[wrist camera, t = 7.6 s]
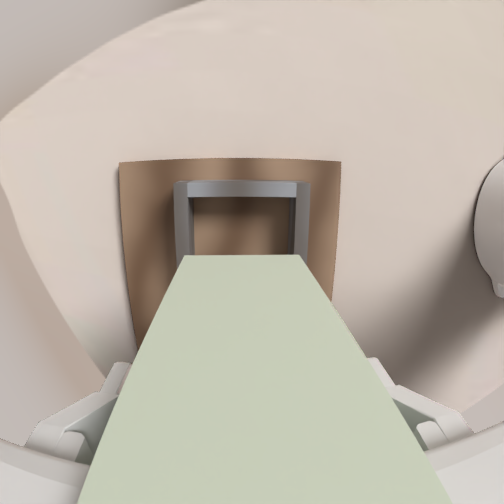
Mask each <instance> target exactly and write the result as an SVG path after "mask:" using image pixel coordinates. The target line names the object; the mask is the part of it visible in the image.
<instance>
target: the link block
mask: <svg viewBox="0 0 504 504" xmlns="http://www.w3.org/2000/svg"><path fill="white" fill-rule="evenodd" d="M77 504H453V503H452V501H451V499H450V498H449V496H448V494H447V492H446V490H445V489H444V487H443V485H442V483H441V481H440V480H439V478H438V476H437V474H436V472H435V471H434V469H433V467H432V465H431V464H430V462H429V460H428V458H427V457H426V455H425V453H424V452H423V450H422V448H421V446H420V445H419V443H418V441H417V440H416V438H415V436H414V434H413V433H412V431H411V429H410V428H409V426H408V424H407V423H406V421H405V419H404V418H403V416H402V414H401V413H400V411H399V409H398V408H397V406H396V404H395V403H394V401H393V399H392V398H391V396H390V395H389V393H388V391H387V390H386V388H385V386H384V385H383V383H382V382H381V380H380V378H379V377H378V375H377V373H376V372H375V370H374V369H373V367H372V365H371V364H370V362H369V361H368V359H367V358H366V356H365V354H364V353H363V351H362V350H361V348H360V346H359V345H358V343H357V342H356V340H355V339H354V337H353V335H352V334H351V332H350V331H349V329H348V328H347V326H346V325H345V323H344V322H343V320H342V318H341V317H340V315H339V314H338V312H337V311H336V309H335V308H334V306H333V305H332V303H331V302H330V300H329V299H328V297H327V296H326V294H325V293H324V291H323V290H322V288H321V287H320V285H319V283H318V282H317V281H316V279H315V278H314V276H313V275H312V273H311V272H310V270H309V269H308V267H307V266H306V264H305V263H304V261H303V260H302V258H301V257H300V255H184V257H183V259H182V261H181V263H180V265H179V267H178V269H177V271H176V273H175V275H174V277H173V279H172V281H171V283H170V285H169V287H168V290H167V292H166V294H165V296H164V298H163V300H162V302H161V304H160V306H159V308H158V310H157V312H156V314H155V316H154V319H153V321H152V323H151V325H150V327H149V329H148V331H147V334H146V336H145V338H144V340H143V342H142V344H141V347H140V349H139V351H138V353H137V355H136V358H135V360H134V362H133V364H132V367H131V369H130V371H129V373H128V376H127V378H126V380H125V383H124V385H123V387H122V390H121V392H120V394H119V397H118V399H117V401H116V404H115V406H114V408H113V411H112V413H111V416H110V418H109V421H108V423H107V425H106V428H105V430H104V433H103V435H102V438H101V440H100V443H99V445H98V448H97V451H96V453H95V456H94V458H93V461H92V464H91V466H90V469H89V472H88V474H87V477H86V480H85V482H84V485H83V488H82V491H81V494H80V496H79V499H78V502H77Z"/></svg>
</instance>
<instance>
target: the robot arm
mask: <svg viewBox="0 0 504 504" xmlns="http://www.w3.org/2000/svg"><path fill="white" fill-rule="evenodd" d="M474 238H475V247H476V251H477V255H478V258H479V261H480V263H481V265H482V267H483V268H484V270H485V271H486V272H487V273H488V275H489V276H490V277H491V279H492V284H493V289H494V293H495V295H496V296H498V297H501V298H504V159H503V160H501V161H500V162H499V163H498V164H497V165H496V166H495V167H494V168H493V169H492V170H491V172H490V173H489V175H488V176H487V178H486V180H485V182H484V184H483V186H482V189H481V192H480V195H479V198H478V202H477V207H476V212H475V221H474ZM367 359H368V361H369V362H370V364H371V365H372V367H373V369H374V370H375V372H376V373H377V375H378V377H379V378H380V380H381V382H382V383H383V385H384V386H385V388H386V390H387V391H388V393H389V395H390V396H391V398H392V399H393V401H394V403H395V404H396V406H397V408H398V409H399V411H400V413H401V414H402V416H403V418H404V419H405V421H406V423H407V424H408V426H409V428H410V429H411V431H412V433H413V434H414V436H415V438H416V440H417V441H418V443H419V445H420V446H421V448H422V450H423V452H424V453H425V455H426V457H427V458H428V460H429V462H430V464H431V465H432V467H433V469H434V471H435V472H436V474H437V476H438V478H439V480H440V481H441V483H442V485H443V487H444V489H445V490H446V492H447V494H448V496H449V498H450V499H451V501H452V503H453V504H504V421H502V422H500V423H498V424H496V425H494V426H491V427H489V428H487V429H484V430H482V431H480V432H477V433H474V432H473V431H472V429H471V428H470V427H469V425H468V424H467V423H466V421H465V420H464V419H463V417H462V416H461V415H460V413H459V412H458V411H456V410H453V409H451V408H449V407H447V406H444V405H442V404H440V403H438V402H435V401H433V400H431V399H429V398H427V397H425V396H422V395H420V394H418V393H416V392H414V391H412V390H409V389H407V388H405V387H403V386H401V385H395V384H394V382H393V381H392V379H391V378H390V376H389V375H388V373H387V372H386V370H385V369H384V368H383V366H382V365H381V363H380V362H379V360H378V359H377V358H376V357H371V358H367ZM132 364H133V363H129V362H115V363H114V365H113V367H112V368H111V370H110V372H109V374H108V376H107V378H106V380H105V382H104V384H103V386H102V388H101V390H100V392H93V393H92V394H90V395H88V396H86V397H84V398H82V399H81V400H79V401H77V402H75V403H73V404H72V405H70V406H68V407H66V408H64V409H62V410H61V411H59V412H57V413H55V414H53V415H51V416H49V417H47V418H45V419H44V420H42V421H40V422H38V424H37V426H36V427H35V429H34V430H33V432H32V434H31V435H30V437H29V439H28V441H27V442H26V444H25V446H24V447H22V446H19V445H16V444H14V443H11V442H8V441H5V440H3V439H0V504H77V502H78V499H79V496H80V494H81V491H82V488H83V485H84V482H85V480H86V477H87V474H88V472H89V469H90V466H91V464H92V461H93V458H94V456H95V453H96V451H97V448H98V445H99V443H100V440H101V438H102V435H103V433H104V430H105V428H106V425H107V423H108V421H109V418H110V416H111V413H112V411H113V408H114V406H115V404H116V401H117V399H118V397H119V394H120V392H121V390H122V387H123V385H124V383H125V380H126V378H127V376H128V373H129V371H130V369H131V367H132Z"/></svg>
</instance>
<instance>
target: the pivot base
mask: <svg viewBox="0 0 504 504" xmlns="http://www.w3.org/2000/svg"><path fill="white" fill-rule="evenodd" d="M340 182H341V162H338V161H321V160H301V159H268V158H205V159H173V160H153V161H136V162H122V163H119V184H120V206H121V221H122V234H123V246H124V256H125V266H126V274H127V283H128V291H129V298H130V305H131V312H132V318H133V325H134V331H135V336H136V342H137V348H138V351H139V349H140V347H141V344H142V342H143V340H144V338H145V336H146V334H147V331H148V329H149V327H150V325H151V323H152V321H153V319H154V316H155V314H156V312H157V310H158V308H159V306H160V304H161V302H162V300H163V298H164V296H165V294H166V292H167V290H168V287H169V285H170V283H171V281H172V279H173V277H174V275H175V273H176V271H177V269H178V267H179V265H180V263H181V261H182V259H183V257H184V255H300V257H301V258H302V260H303V261H304V263H305V264H306V266H307V267H308V269H309V270H310V272H311V273H312V275H313V276H314V278H315V279H316V281H317V282H318V283H319V285H320V287H321V288H322V290H323V291H324V293H325V294H326V296H327V297H328V299H329V300H330V302H331V300H332V291H333V281H334V271H335V260H336V248H337V235H338V220H339V203H340Z"/></svg>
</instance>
